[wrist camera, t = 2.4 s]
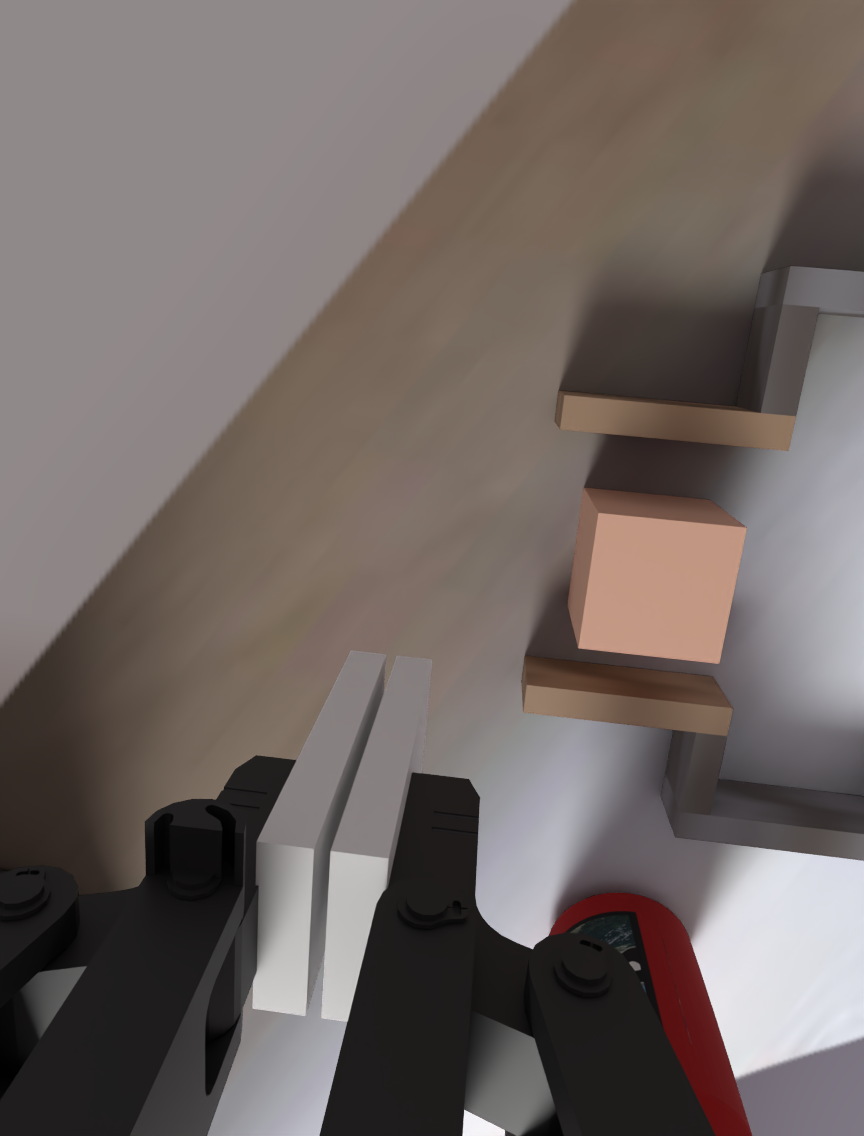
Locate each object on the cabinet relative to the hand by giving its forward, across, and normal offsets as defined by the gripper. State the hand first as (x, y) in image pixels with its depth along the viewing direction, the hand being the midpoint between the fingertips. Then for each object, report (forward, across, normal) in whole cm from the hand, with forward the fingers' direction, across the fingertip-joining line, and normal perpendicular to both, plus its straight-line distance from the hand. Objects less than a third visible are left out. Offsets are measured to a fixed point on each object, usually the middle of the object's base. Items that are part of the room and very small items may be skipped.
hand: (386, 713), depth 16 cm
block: (+17, +8, 0) cm, 18 cm away
